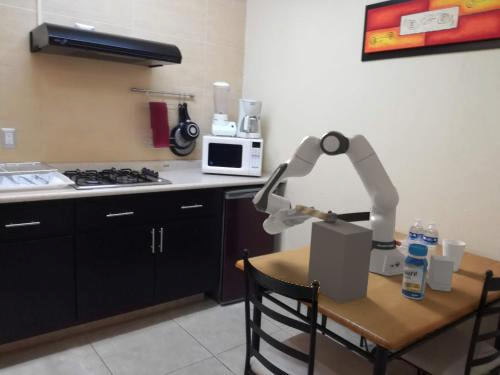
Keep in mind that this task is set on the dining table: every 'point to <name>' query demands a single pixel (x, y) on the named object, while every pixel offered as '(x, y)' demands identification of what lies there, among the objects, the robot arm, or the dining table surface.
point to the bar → (317, 213)
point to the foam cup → (454, 251)
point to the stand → (340, 259)
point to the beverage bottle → (415, 272)
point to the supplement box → (440, 272)
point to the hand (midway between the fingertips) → (304, 209)
